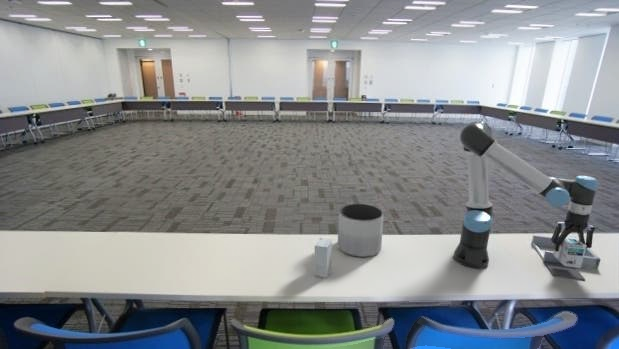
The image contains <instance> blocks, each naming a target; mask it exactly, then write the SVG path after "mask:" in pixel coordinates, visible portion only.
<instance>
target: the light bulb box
mask: <svg viewBox="0 0 619 349" xmlns="http://www.w3.org/2000/svg"><path fill="white" fill-rule="evenodd" d="M560 235H561V233H560V234H559V236H560ZM561 246H562V249H561V253H560V257H559V259H558V260H559V261H560V262H561V263H562V264H563V265H564V266H569V267H575V268H579V269H581V268H582V267H581V266H582V262H583V258H584V254H585V250H586V245H584V244H583V243H582V242H580V241H579V238H577V237H576V236H575V235H572V234H569V235H568V236H567V237H566V238H565V240H564V241H563V242H562V243H561ZM552 252H553V255H554V256H555V253H556V251H555V250H554V249H553V251H552Z"/></svg>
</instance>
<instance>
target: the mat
mask: <svg viewBox="0 0 619 349" xmlns="http://www.w3.org/2000/svg"><path fill="white" fill-rule="evenodd" d="M542 261H543V260H542ZM543 264H544V265H545V266H546V268H547V269H548V271H549V273H550V274H551V275H552V277H558V278H564V279H565V278H566V279H571V280H577V281H578V280H579V281H586V279H585V277H584V276H583V275H582V274H581V272H580V271H579V270H578V269H577V267H569V266H564V265H563V264H562V263H556V262H549V261H543Z"/></svg>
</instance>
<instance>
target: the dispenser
mask: <svg viewBox="0 0 619 349" xmlns="http://www.w3.org/2000/svg"><path fill="white" fill-rule="evenodd" d="M551 238H552V236H547V235H537V234H533V235H532V239H531V245H532V247H533V248H534V249H535V251H537V253H538V254H539V257H541V259H542V261H549V262H556V263H561V262H560V261H559V260H558V259H557V258H556V257H555V256H554V255H553V252H554V251H551V250H544V254H543V252H542V250H541V249H540V247H538V246H541V245H542V246H541V247H549V248H550V247H551V248H554V247H555V244H554V243H553V242H552V241H551ZM600 263H601V258H600V257H599V256H598V255H597V254H596V253H595V252H594V251H593V250H592V249H591V248H587V249H586V250H585V254H584V258H583V262H582V266H581V268H589V269H596V270H599V267H600Z"/></svg>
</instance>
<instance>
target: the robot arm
mask: <svg viewBox="0 0 619 349" xmlns="http://www.w3.org/2000/svg"><path fill="white" fill-rule="evenodd" d="M492 131H493V130H492V129H491V127H490V125H489V124H488V123H486V122H484V121H481V120H476V121H471V122H470V123H468V124H466V126H465V127H463V129H462V130H461V132H460V135H459V140H460V142H461V145H462V147H463V152H465V153H466V155H467V173H468V174H467V176H468V198H469V200H468V201H467V202H466V204H465V209H466V210H465V211H466V212H465V213H464V216H463V218H462V227H461V233H460V238H459V239H460V240H459V243H458V245H457V246H456V248H455V250H454V252H453V259H454V261H456V262H457V263H458V264H460V265H462V266H464V267H468V268H471V269H483V268H487V267H488V266H489V264H490V258H489V253H488V244H489V238H490V234H491V228H492V225H493V223H494V219H495V216H494V211H493V203H492V202H491V201H490V200H489V198H490V195H489V168H488V167H489V162H491V163H493V164H494V165H495V166H496V167H498V168H500V169H501V170H503V171H504V172H506V173H507V174H509V175H510V176H512V177H513V178H515V179H516V180H518V181H519V182H521V184H523V185H525V186H526V187H528V188H530V189H531V190H532V191H534V192H535V193H537V194H538V195H540V196H541V197H542V198H544V199H545V201H546V202H547V204H549V205H551V206H553V207H558V208H559V207H563V206H566V205H567V204H568V203H569V204H568V208H567V209H568V210H567V211H566V215H565V216H566V217H565V219H564V221H556V222H555V226H556V227H555V228H554V232H553V233H552V236H551V237H552V238H551V241H552V242H553V243H554V244H555V247H553V248H554V249H553V251H554V250H555V251H556V253H555V257H556V258H557V259H559V257H560V253H561V249H562V246H561V243H562V242H563V241H564V240H565V238H566V237H567V236H568V235H571V234H572V233H577V235H578V236H577V237H578V240H579V241H580V242H582V243H583V244H584V245H586V249H587V248H590V249H591V248H592V245H593V236H594V232H595V231H596V227H595V226H594V225H592V224H588V222H589V220H590V214H591V212H592V209H593V208H592V207H593V204H594V199H595V196H596V193H597V191H598V190H597V189H598V184H599V181H598V180H597V178H595V177H592V176H588V175H577V176H575V178H574V179H568V178H560V177H552V176H547V175H546V174H544V173H543V172H541V171H540V170H539V169H537V168H535V167H534V166H532V165H530V164H529V163H528V162H527V161H525V160H523V159H522V158H520V157H519V156H517V155H516V154H514V153H513V152H511V151H510V150H508V149H507V148H505V147H504V146H502V145H501V144H499V143H498V141H497V139H496V138H495V137H493V133H492ZM488 161H489V162H488ZM564 226H565V228H564V229H563V227H564ZM562 229H563V230H562ZM585 229H586V236H585V235H584V230H585ZM559 234H561V235H560V236H559Z"/></svg>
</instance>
